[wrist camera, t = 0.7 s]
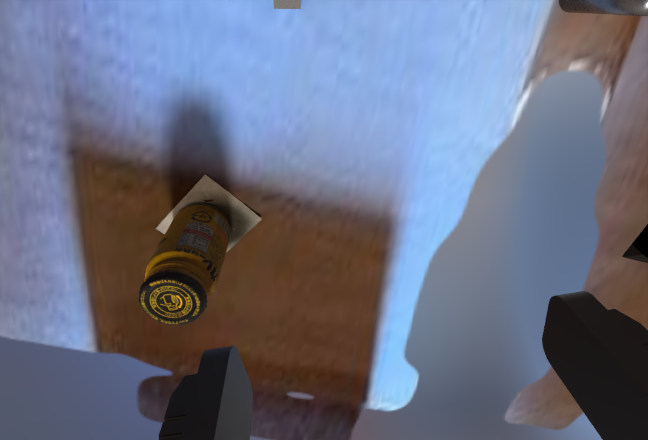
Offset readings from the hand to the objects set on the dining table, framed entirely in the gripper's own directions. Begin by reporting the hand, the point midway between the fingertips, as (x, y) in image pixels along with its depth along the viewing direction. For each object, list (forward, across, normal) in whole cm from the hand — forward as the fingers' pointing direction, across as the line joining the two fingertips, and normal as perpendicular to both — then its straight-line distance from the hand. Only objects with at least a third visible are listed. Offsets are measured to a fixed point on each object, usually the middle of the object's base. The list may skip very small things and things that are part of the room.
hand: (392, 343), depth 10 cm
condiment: (+29, +14, +11) cm, 34 cm away
